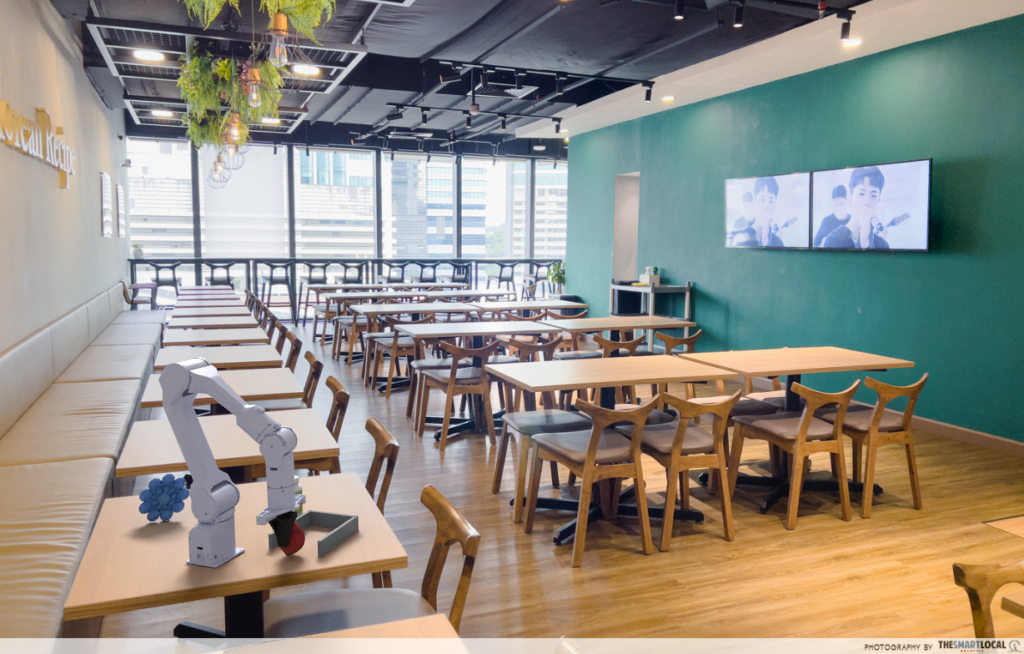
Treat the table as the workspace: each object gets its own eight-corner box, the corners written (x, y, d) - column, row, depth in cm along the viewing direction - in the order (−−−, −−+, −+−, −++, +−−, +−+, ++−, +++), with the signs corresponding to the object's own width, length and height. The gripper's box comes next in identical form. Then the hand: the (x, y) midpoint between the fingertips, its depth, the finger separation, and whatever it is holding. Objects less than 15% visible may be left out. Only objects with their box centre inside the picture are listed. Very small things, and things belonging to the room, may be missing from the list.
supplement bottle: (299, 518, 179) (297, 480, 178) (277, 517, 179) (276, 480, 178) (305, 510, 184) (304, 474, 183) (285, 510, 184) (283, 474, 183)
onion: (306, 555, 158) (310, 519, 159) (297, 560, 153) (303, 522, 154) (280, 552, 158) (285, 516, 159) (271, 557, 153) (276, 519, 154)
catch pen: (321, 556, 156) (320, 541, 155) (268, 548, 160) (268, 534, 160) (358, 529, 171) (358, 515, 171) (310, 523, 175) (309, 509, 175)
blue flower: (191, 512, 183) (189, 467, 182) (190, 521, 177) (188, 474, 176) (141, 518, 179) (139, 472, 178) (138, 527, 173) (135, 479, 171)
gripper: (275, 496, 144) (278, 561, 145) (316, 476, 157) (319, 535, 159) (246, 494, 146) (249, 557, 147) (289, 474, 160) (292, 532, 161)
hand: (283, 546), depth 153 cm, fingers closed, pressing on onion
